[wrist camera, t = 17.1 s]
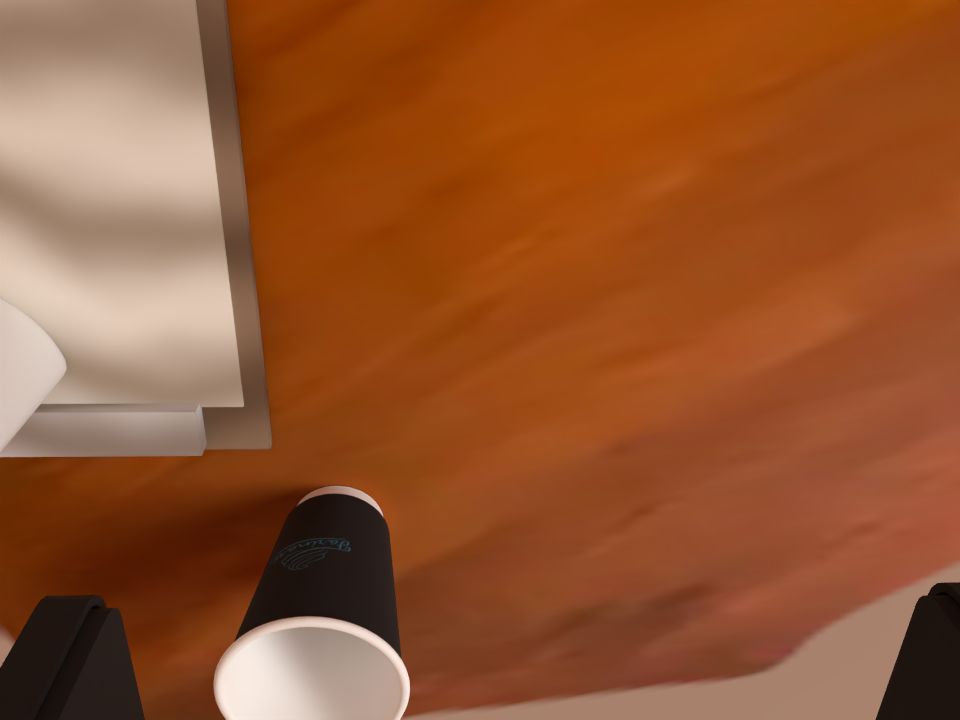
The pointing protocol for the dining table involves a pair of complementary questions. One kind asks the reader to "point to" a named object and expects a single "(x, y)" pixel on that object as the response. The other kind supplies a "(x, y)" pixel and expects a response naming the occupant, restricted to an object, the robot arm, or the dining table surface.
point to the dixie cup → (320, 621)
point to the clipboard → (130, 226)
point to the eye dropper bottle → (24, 369)
